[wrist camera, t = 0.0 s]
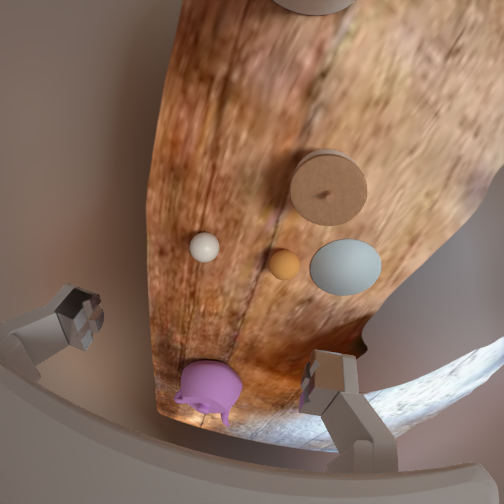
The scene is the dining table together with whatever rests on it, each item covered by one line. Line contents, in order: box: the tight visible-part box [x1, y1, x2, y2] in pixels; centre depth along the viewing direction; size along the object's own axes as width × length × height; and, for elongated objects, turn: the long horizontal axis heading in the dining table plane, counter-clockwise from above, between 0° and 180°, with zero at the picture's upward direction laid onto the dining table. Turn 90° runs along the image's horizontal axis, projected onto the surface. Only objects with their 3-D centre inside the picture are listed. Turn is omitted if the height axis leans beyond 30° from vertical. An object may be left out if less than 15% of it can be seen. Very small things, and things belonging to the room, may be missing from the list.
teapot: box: [174, 360, 242, 427], centre depth 85 cm, size 23×21×15 cm
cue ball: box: [190, 232, 219, 262], centre depth 55 cm, size 6×6×6 cm
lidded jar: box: [290, 148, 367, 226], centre depth 41 cm, size 11×11×9 cm
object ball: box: [269, 250, 300, 280], centre depth 54 cm, size 6×6×6 cm
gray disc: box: [310, 239, 381, 296], centre depth 56 cm, size 14×14×1 cm
